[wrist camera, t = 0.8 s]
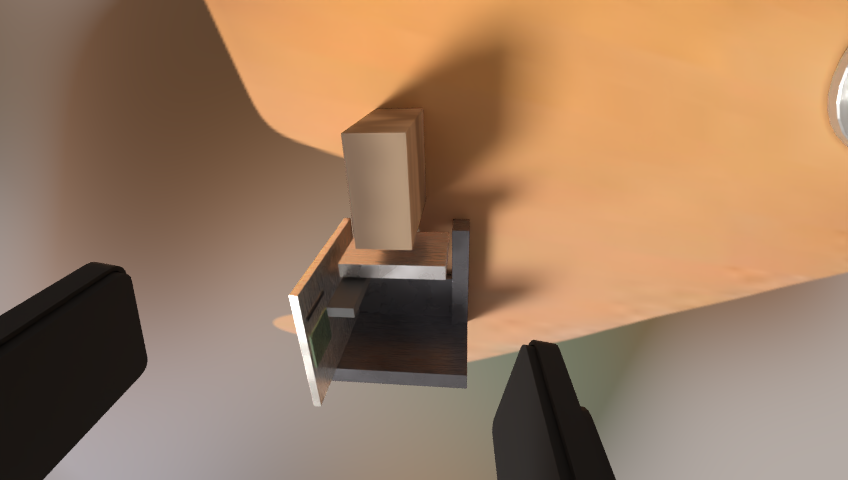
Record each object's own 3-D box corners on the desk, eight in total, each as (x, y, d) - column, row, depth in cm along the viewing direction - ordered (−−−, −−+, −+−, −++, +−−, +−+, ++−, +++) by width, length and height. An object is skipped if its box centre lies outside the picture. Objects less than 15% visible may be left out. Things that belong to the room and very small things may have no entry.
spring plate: (449, 232, 35) (445, 266, 29) (449, 258, 36) (445, 296, 31) (357, 230, 36) (338, 263, 30) (360, 256, 37) (342, 292, 31)
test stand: (469, 219, 36) (469, 302, 25) (467, 322, 41) (466, 429, 30) (344, 217, 37) (288, 295, 26) (357, 317, 43) (316, 418, 31)
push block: (423, 107, 32) (405, 132, 23) (426, 198, 36) (412, 250, 27) (375, 108, 32) (341, 133, 24) (383, 198, 36) (355, 249, 27)
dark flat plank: (381, 244, 37) (353, 308, 28) (382, 251, 37) (354, 317, 28) (360, 243, 37) (326, 307, 28) (361, 251, 37) (327, 316, 28)
